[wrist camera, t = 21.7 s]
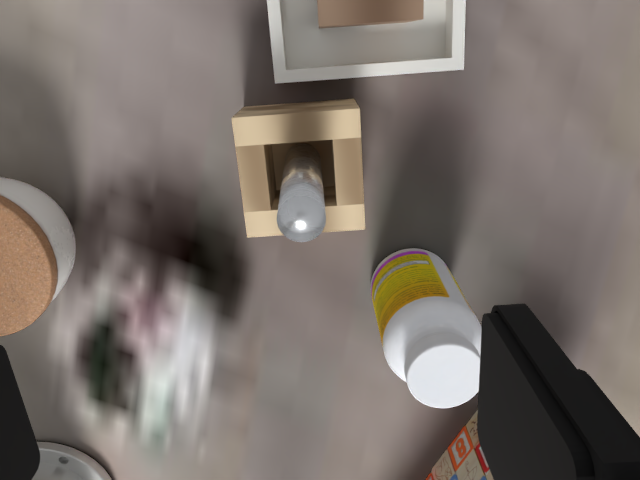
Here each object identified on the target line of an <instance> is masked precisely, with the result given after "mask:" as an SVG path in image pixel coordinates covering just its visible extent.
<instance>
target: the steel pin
mask: <svg viewBox="0 0 640 480" xmlns="http://www.w3.org/2000/svg"><path fill="white" fill-rule="evenodd" d="M325 224H326V213H325V202H324V192H323V182H322V172H321V161H320V155H319V153H318V151H317V150H316V148H315V147H313V146H312V145H310V144H307V143H298V144H295V145H293V146H292V147H291V148H290V149H289V150H288V151H287V153H286V156H285V163H284V170H283V177H282V184H281V191H280V198H279V205H278V212H277V225H278V228H279V230H280V231H281V233H282V234H283V235H284V236H285V237H287V238H288V239H290V240H293V241H296V242H307V241H310V240H313V239H314V238H316V237H317V236H319V235H320V234H321V232H322V231H323V229H324V227H325Z"/></svg>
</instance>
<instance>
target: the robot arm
mask: <svg viewBox="0 0 640 480" xmlns="http://www.w3.org/2000/svg"><path fill="white" fill-rule="evenodd" d="M477 432H478V439H479V443H480V446H481V449H482V451H483V454H484V456H485V459H486V461H487V464H488V466H489V469H490V472H491V474H492V477H493V479H494V480H640V437H639V436H638V435H637V434H636V432H635V431H634V430H633V429H632V427H631V426H630V425H629V424H628V422H627V421H626V420H625V419H624V417H623V416H622V415H621V414H620V413H619V411H618V410H617V409H616V408H615V406H614V405H613V404H612V403H611V401H610V400H609V399H608V398H607V396H606V395H605V394H604V393H603V391H602V390H601V389H600V388H599V387H598V385H597V384H596V383H595V382H594V380H593V379H592V378H591V377H590V376H589V375H588V374H587V373H586V372H585V371H583V370H580V369H576V367H575V366H574V365H573V364H572V362H571V361H570V360H569V358H568V357H567V356H566V355H565V353H564V352H563V351H562V350H561V348H560V347H559V346H558V344H557V343H556V342H555V341H554V339H553V338H552V337H551V336H550V334H549V333H548V332H547V330H546V329H545V328H544V327H543V325H542V324H541V323H540V322H539V320H538V319H537V318H536V316H535V315H534V314H533V313H532V311H531V310H530V309H529V308H528V306H527V305H526V304H511V305H495V306H494V307H493V308H492V311H491V313H488V314H484V315H483V318H482V332H481V353H480V374H479V396H478V417H477ZM0 480H112V479H111V477H110V476H109V475H108V473H107V472H106V471H105V469H104V468H103V467H102V466H101V465H99V464H98V463H97V462H96V461H95V460H94V459H92V458H91V457H89V456H88V455H86V454H85V453H83V452H80V451H78V450H76V449H74V448H71V447H68V446H65V445H62V444H56V443H50V442H36V439H35V436H34V433H33V430H32V427H31V424H30V421H29V418H28V415H27V412H26V409H25V406H24V403H23V400H22V397H21V394H20V391H19V388H18V385H17V382H16V379H15V376H14V373H13V370H12V367H11V364H10V361H9V358H8V355H7V352H6V350H5V348H4V347H3V346H2V345H0Z"/></svg>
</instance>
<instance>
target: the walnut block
mask: <svg viewBox="0 0 640 480" xmlns="http://www.w3.org/2000/svg"><path fill="white" fill-rule="evenodd" d="M317 9H318V25H319V29H320V28H334V27H349V26H363V25H377V24H392V23H406V22H412V21H417V20H422V19H423V15H424V0H317Z"/></svg>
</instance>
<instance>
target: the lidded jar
mask: <svg viewBox="0 0 640 480" xmlns="http://www.w3.org/2000/svg"><path fill="white" fill-rule="evenodd" d="M75 254H76V242H75V235H74V232H73V228H72V226H71V224H70V221H69V219H68V217H67V216H66V214H65V213H64V211H63V210H62V208H61V207H60V206H59V205H58V204H57V203H56V202H55V201H54V200H53V199H52V198H51V197H50V196H48V195H47V194H46V193H44V192H43V191H41V190H40V189H38V188H36V187H34V186H32V185H30V184H27V183H25V182H22V181H19V180H14V179H9V178H4V177H0V336H5V335H9V334H13V333H15V332H18V331H20V330H22V329H24V328H26V327H27V326H29V325H30V324H32V323H33V322H34V321H35V320H36V319H37V318H38V317H39V316H40V315H41V314H42V313H43V312H44V311H45V310H46V308H47V307H48V306H49V304H50V303H51V302H52V301H53V300H54V299H55V298H56V296H57V295H58V294H59V292H60V291H61V289H62V288H63V286H64V285H65V283H66V282H67V280H68V278H69V275H70V273H71V271H72V268H73V265H74V261H75Z"/></svg>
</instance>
